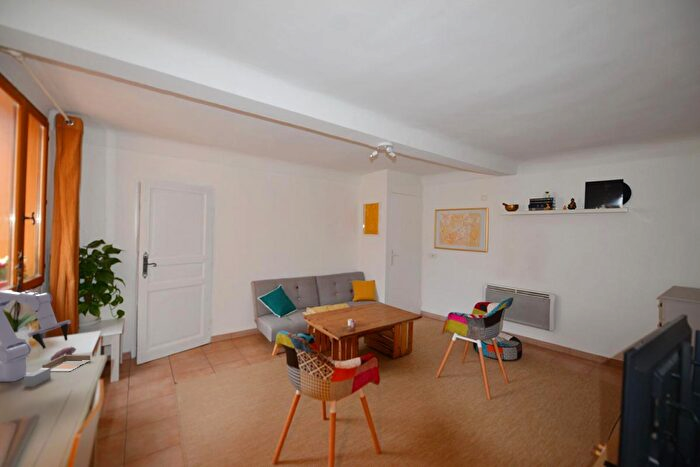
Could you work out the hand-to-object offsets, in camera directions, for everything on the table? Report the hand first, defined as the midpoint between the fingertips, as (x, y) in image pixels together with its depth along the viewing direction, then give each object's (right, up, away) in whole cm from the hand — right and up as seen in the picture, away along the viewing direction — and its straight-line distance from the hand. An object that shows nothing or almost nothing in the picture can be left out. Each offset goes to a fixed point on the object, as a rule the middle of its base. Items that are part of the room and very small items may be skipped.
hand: (55, 344), depth 142 cm
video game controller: (-21, -17, +25) cm, 37 cm away
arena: (-9, -17, +16) cm, 25 cm away
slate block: (-8, -18, 0) cm, 20 cm away
